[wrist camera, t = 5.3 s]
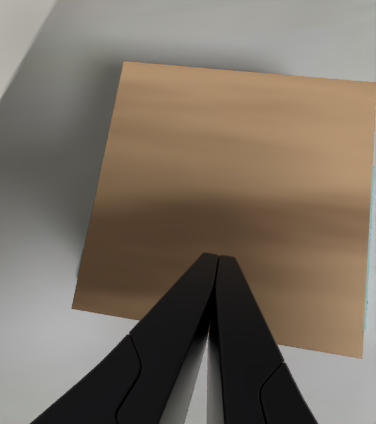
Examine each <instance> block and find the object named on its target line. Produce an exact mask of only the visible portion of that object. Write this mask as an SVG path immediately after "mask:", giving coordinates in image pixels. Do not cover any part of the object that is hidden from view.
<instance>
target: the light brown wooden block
mask: <svg viewBox="0 0 376 424" xmlns="http://www.w3.org/2000/svg"><path fill="white" fill-rule="evenodd" d="M375 112H376V83H374V82H363V81H351V80H339V79H327V78H316V77H304V76H292V75H280V74H269V73H257V72H245V71H233V70H222V69H210V68H198V67H186V66H175V65H163V64H151V63H139V62H128V61H124V62H123V67H122V72H121V76H120V81H119V86H118V90H117V95H116V100H115V105H114V109H113V114H112V119H111V124H110V128H109V133H108V138H107V143H106V147H105V152H104V157H103V161H102V166H101V171H100V176H99V180H98V185H97V190H96V195H95V199H94V204H93V209H92V214H91V218H90V223H89V228H88V232H87V237H86V242H85V247H84V251H83V256H82V261H81V266H80V270H79V275H78V280H77V285H76V289H75V294H74V299H73V303H72V308H71V309H76V310H82V311H88V312H94V313H99V314H105V315H111V316H117V317H123V318H128V319H134V320H141V319H142V318H143V317H144V316H145V315H146V314H147V313H148V312H149V310H150V309H151V308H152V307H153V306H154V305H155V304H156V303H157V302H158V301H159V300H160V299H161V298H162V296H163V295H164V294H165V293H166V292H167V291H168V290H169V289H170V288H171V287H172V286H173V285H174V283H175V282H176V281H177V280H178V279H179V278H180V277H181V276H182V275H183V274H184V273H185V272H186V270H187V269H188V268H189V267H190V266H191V265H192V264H193V263H194V262H195V261H196V260H197V259H198V258H199V256H200V255H201V254H202V253H204V252H207V253H214V254H218V256H220V255H227V256H233V257H235V258H236V259H237V261H238V263H239V266H240V268H241V270H242V272H243V274H244V276H245V278H246V280H247V282H248V284H249V287H250V289H251V291H252V293H253V295H254V297H255V299H256V301H257V303H258V306H259V308H260V310H261V312H262V314H263V316H264V318H265V320H266V322H267V324H268V327H269V329H270V331H271V333H272V335H273V337H274V339H275V341H276V343H277V344H279V345H285V346H291V347H297V348H302V349H308V350H314V351H320V352H326V353H331V354H337V355H343V356H349V357H355V358H360V359H362V353H363V334H364V316H365V297H366V279H367V260H368V242H369V223H370V205H371V186H372V168H373V149H374V131H375ZM209 327H210V326H209Z"/></svg>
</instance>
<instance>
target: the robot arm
mask: <svg viewBox="0 0 376 424" xmlns="http://www.w3.org/2000/svg"><path fill="white" fill-rule="evenodd" d="M209 326H210V327H209ZM208 332H209V336H208ZM207 338H208V371H207V424H318V422H317V421H316V419H315V417H314V416H313V414H312V412H311V411H310V409H309V407H308V405H307V404H306V402H305V400H304V398H303V396H302V394H301V392H300V390H299V389H298V387H297V385H296V383H295V381H294V379H293V377H292V375H291V373H290V370H289V368H288V366H287V364H286V363H284V358H283V356H282V354H281V352H280V350H279V348H278V345H277V343H276V341H275V339H274V337H273V335H272V333H271V331H270V329H269V327H268V324H267V322H266V320H265V318H264V316H263V314H262V312H261V310H260V308H259V306H258V303H257V301H256V299H255V297H254V295H253V293H252V291H251V289H250V287H249V284H248V282H247V280H246V278H245V276H244V274H243V272H242V270H241V268H240V266H239V263H238V261H237V259H236V258H235V257H233V256H227V255H220V256H218V254H214V253H207V252H204V253H202V254H201V255H200V256H199V258H198V259H197V260H196V261H195V262H194V263H193V264H192V265H191V266H190V267H189V268H188V269H187V270H186V272H185V273H184V274H183V275H182V276H181V277H180V278H179V279H178V280H177V281H176V282H175V283H174V285H173V286H172V287H171V288H170V289H169V290H168V291H167V292H166V293H165V294H164V295H163V296H162V298H161V299H160V300H159V301H158V302H157V303H156V304H155V305H154V306H153V307H152V308H151V309H150V310H149V312H148V313H147V314H146V315H145V316H144V317H143V318H142V319H141V320H140V321H139V322H138V323H137V325H136V326H135V327H134V328H133V329H132V330H131V331H130V332H129V335H126V336H125V337H124V338H123V339H122V341H121V342H120V343H119V344H118V345H117V346H116V347H115V348H114V349H113V350H112V351H111V352H110V353H109V354H108V355H107V356H106V357H105V358H104V359H103V360H102V361H101V362H100V363H99V364H98V365H97V366H96V367H95V368H94V369H92V370H91V371H90V372H89V373H88V374H87V375H86V376H85V377H84V378H82V379H81V380H80V381H79V382H78V383H77V384H75V385H74V386H73V387H72V388H71V389H70V390H68V391H67V392H66V393H65V394H64V395H63V396H61V397H60V398H59V399H58V400H57V401H56V402H54V403H53V404H52V405H51V406H50V407H49V408H48V409H46V410H45V411H44V412H43V413H42V414H41V415H39V416H38V417H37V418H36V419H35V420H34V421H32V422H31V423H30V424H184V422H185V419H186V415H187V412H188V408H189V404H190V401H191V397H192V393H193V390H194V386H195V383H196V379H197V375H198V372H199V368H200V365H201V361H202V357H203V354H204V350H205V346H206V342H207Z"/></svg>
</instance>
